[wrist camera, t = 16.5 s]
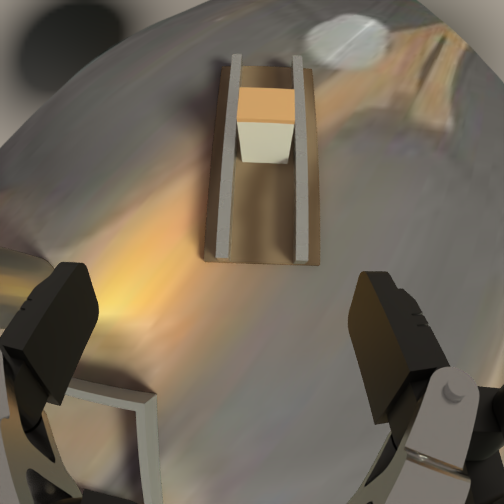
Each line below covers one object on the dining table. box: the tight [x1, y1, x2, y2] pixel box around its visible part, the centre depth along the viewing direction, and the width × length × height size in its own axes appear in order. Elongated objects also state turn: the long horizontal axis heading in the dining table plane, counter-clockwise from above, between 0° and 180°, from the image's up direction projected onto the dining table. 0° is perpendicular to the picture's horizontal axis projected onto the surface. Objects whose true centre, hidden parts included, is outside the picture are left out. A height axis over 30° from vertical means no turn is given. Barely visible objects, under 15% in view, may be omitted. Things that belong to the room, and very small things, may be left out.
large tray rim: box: [65, 378, 163, 504], centre depth 28 cm, size 20×20×4 cm
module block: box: [237, 87, 295, 164], centre depth 30 cm, size 5×4×9 cm
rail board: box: [204, 54, 320, 266], centre depth 34 cm, size 12×26×4 cm, turn 178°
